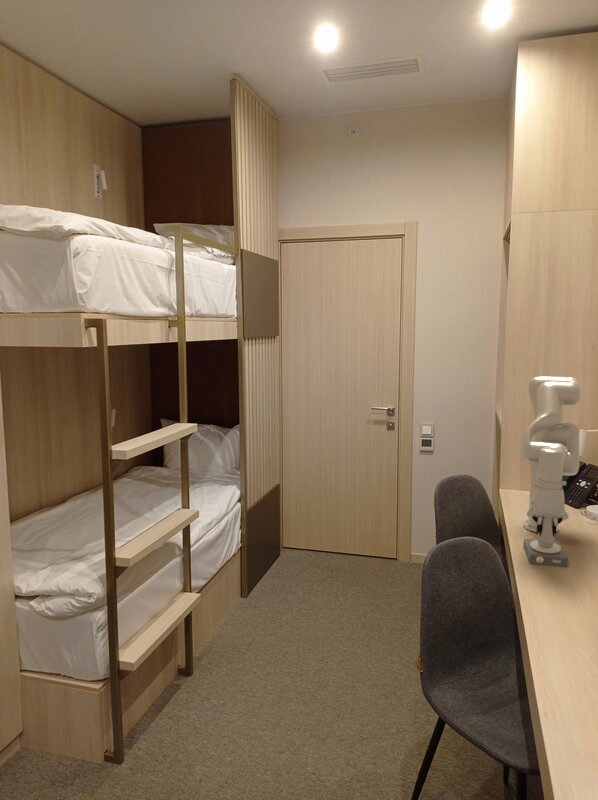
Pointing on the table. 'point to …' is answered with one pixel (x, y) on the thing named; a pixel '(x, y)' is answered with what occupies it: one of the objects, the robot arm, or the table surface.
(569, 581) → the table surface
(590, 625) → the table surface
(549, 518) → the salt shaker
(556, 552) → the scale
